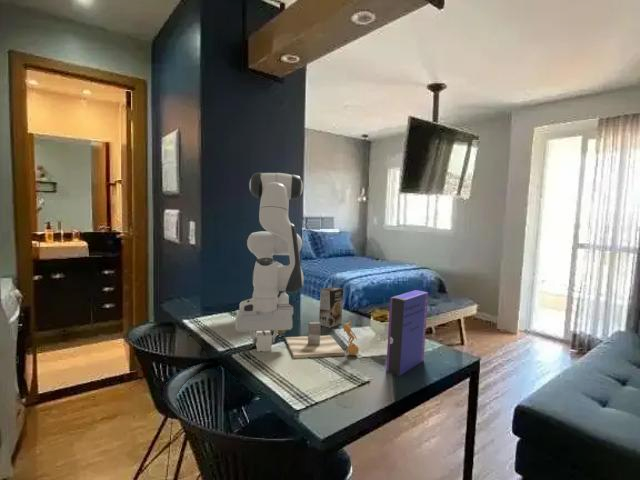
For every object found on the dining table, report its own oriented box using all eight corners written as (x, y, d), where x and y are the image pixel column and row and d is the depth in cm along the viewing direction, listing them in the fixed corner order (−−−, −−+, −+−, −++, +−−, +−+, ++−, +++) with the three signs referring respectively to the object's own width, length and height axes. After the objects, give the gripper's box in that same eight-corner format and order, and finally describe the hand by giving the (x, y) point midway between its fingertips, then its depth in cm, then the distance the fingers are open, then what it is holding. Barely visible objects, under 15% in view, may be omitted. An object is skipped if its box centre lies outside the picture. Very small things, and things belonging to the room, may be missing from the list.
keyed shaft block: (285, 340, 146) (286, 316, 145) (330, 338, 150) (331, 315, 150) (293, 358, 129) (294, 331, 128) (344, 355, 133) (346, 329, 132)
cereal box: (410, 356, 135) (415, 289, 133) (423, 360, 132) (428, 291, 130) (386, 371, 121) (390, 296, 119) (399, 376, 118) (404, 299, 116)
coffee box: (330, 328, 164) (332, 291, 162) (318, 325, 167) (320, 288, 166) (342, 323, 171) (344, 288, 170) (330, 320, 175) (332, 285, 173)
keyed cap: (255, 344, 140) (256, 329, 139) (269, 344, 141) (269, 329, 140) (257, 351, 133) (258, 335, 133) (271, 351, 134) (271, 335, 134)
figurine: (363, 358, 131) (365, 324, 130) (348, 360, 129) (350, 325, 128) (351, 350, 139) (353, 317, 138) (337, 352, 136) (338, 319, 135)
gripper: (292, 301, 141) (290, 338, 143) (235, 302, 136) (234, 340, 137) (295, 305, 135) (293, 344, 136) (236, 307, 130) (235, 346, 131)
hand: (263, 342), depth 137 cm, fingers closed on keyed cap, 5 cm apart
